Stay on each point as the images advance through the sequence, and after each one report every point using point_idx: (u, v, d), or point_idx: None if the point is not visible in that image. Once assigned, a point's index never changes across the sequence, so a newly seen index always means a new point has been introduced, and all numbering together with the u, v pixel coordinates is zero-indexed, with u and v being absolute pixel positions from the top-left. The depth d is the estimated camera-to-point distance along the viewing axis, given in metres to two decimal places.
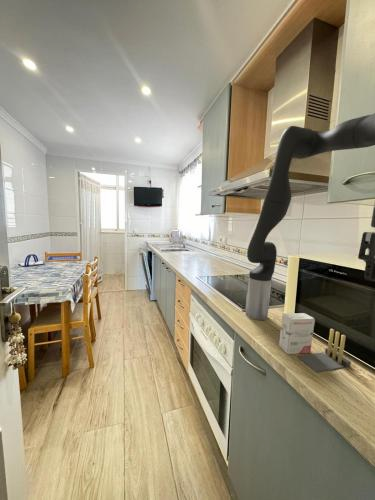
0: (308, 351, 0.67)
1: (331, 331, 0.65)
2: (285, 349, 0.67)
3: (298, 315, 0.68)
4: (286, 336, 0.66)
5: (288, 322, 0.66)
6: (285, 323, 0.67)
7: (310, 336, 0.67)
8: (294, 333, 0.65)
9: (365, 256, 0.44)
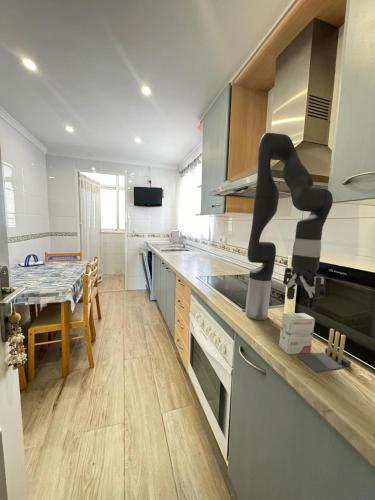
0: (308, 351, 0.67)
1: (331, 331, 0.65)
2: (285, 349, 0.67)
3: (298, 315, 0.68)
4: (286, 336, 0.66)
5: (288, 322, 0.66)
6: (285, 323, 0.67)
7: (310, 336, 0.67)
8: (294, 333, 0.65)
9: (321, 295, 0.60)
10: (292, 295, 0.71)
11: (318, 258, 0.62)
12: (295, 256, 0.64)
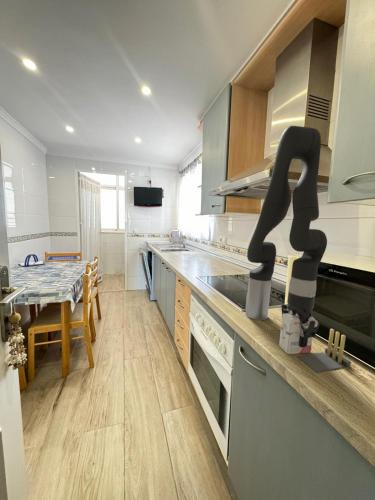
0: (308, 351, 0.67)
1: (331, 331, 0.65)
2: (285, 349, 0.67)
3: None
4: (286, 336, 0.66)
5: (288, 322, 0.66)
6: (285, 323, 0.67)
7: None
8: (294, 333, 0.65)
9: (311, 335, 0.63)
10: None
11: (313, 298, 0.64)
12: (291, 294, 0.66)
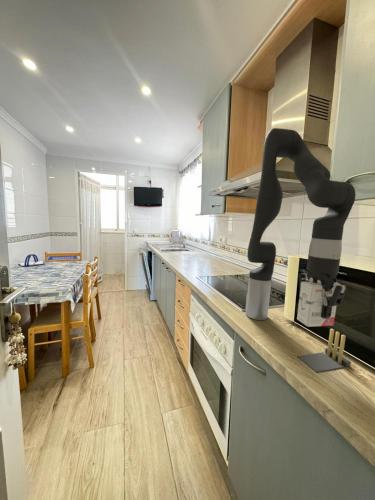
0: (331, 324, 0.59)
1: (331, 331, 0.65)
2: (305, 321, 0.59)
3: None
4: (307, 306, 0.58)
5: (308, 289, 0.58)
6: (305, 292, 0.59)
7: (334, 306, 0.58)
8: (315, 302, 0.57)
9: (337, 303, 0.54)
10: None
11: (338, 260, 0.55)
12: (312, 258, 0.57)
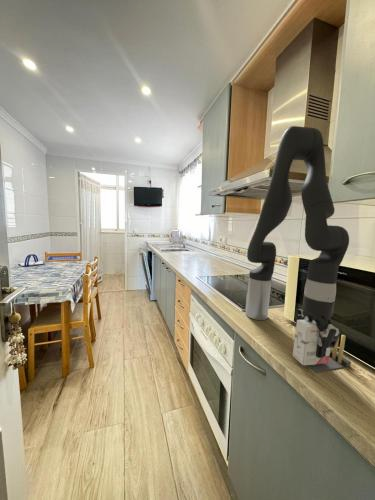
0: (326, 362, 0.60)
1: None
2: (300, 360, 0.60)
3: None
4: (302, 346, 0.60)
5: (304, 329, 0.59)
6: (300, 331, 0.60)
7: None
8: (310, 342, 0.58)
9: (331, 345, 0.56)
10: None
11: (333, 303, 0.57)
12: (307, 299, 0.59)
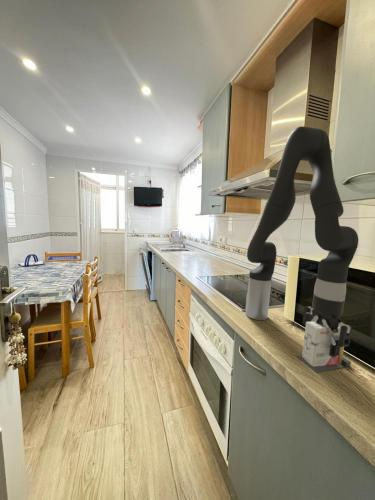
0: (335, 363, 0.62)
1: None
2: (310, 361, 0.61)
3: None
4: (312, 347, 0.61)
5: (313, 331, 0.60)
6: (310, 333, 0.61)
7: None
8: (320, 343, 0.60)
9: (345, 344, 0.56)
10: None
11: (343, 302, 0.58)
12: (317, 298, 0.60)
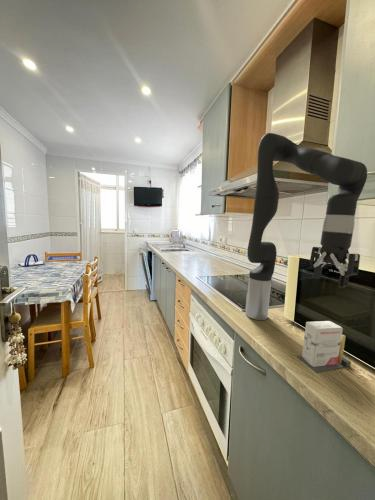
0: (335, 363, 0.62)
1: None
2: (310, 361, 0.61)
3: (324, 323, 0.63)
4: (312, 347, 0.60)
5: (313, 331, 0.60)
6: (310, 333, 0.61)
7: (337, 347, 0.61)
8: (320, 344, 0.59)
9: (354, 272, 0.57)
10: (319, 275, 0.69)
11: (351, 234, 0.60)
12: (326, 233, 0.62)
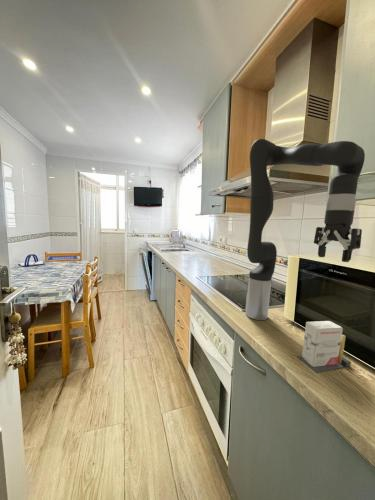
0: (335, 363, 0.62)
1: None
2: (310, 361, 0.61)
3: (324, 323, 0.63)
4: (312, 347, 0.60)
5: (313, 331, 0.60)
6: (310, 333, 0.61)
7: (337, 347, 0.61)
8: (320, 344, 0.59)
9: (357, 246, 0.62)
10: (323, 253, 0.73)
11: (353, 212, 0.64)
12: (329, 211, 0.66)
